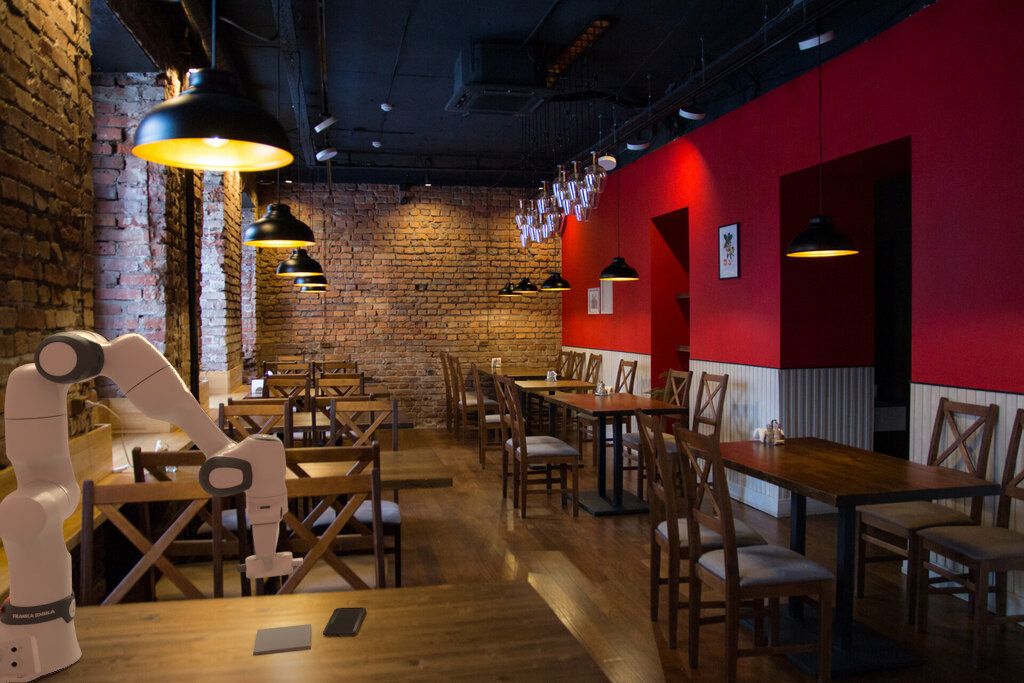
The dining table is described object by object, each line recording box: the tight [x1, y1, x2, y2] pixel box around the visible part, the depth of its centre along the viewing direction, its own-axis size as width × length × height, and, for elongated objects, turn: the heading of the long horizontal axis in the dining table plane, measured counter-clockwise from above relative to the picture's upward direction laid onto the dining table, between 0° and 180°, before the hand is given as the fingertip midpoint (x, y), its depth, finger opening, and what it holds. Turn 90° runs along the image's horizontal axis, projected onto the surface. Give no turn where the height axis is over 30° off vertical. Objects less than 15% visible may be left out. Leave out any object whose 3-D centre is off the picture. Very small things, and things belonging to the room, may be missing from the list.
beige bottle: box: [236, 551, 304, 579], centre depth 162 cm, size 14×4×4 cm, turn 105°
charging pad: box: [252, 623, 312, 656], centre depth 163 cm, size 12×12×1 cm
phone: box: [322, 606, 367, 637], centre depth 173 cm, size 8×1×15 cm
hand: (269, 566), depth 162 cm, fingers closed on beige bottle, 4 cm apart
